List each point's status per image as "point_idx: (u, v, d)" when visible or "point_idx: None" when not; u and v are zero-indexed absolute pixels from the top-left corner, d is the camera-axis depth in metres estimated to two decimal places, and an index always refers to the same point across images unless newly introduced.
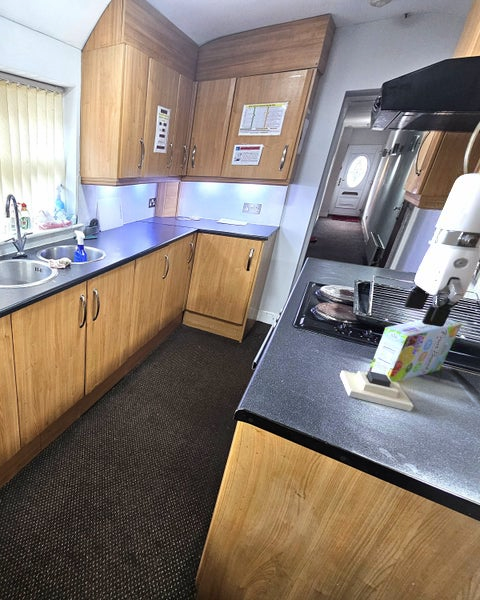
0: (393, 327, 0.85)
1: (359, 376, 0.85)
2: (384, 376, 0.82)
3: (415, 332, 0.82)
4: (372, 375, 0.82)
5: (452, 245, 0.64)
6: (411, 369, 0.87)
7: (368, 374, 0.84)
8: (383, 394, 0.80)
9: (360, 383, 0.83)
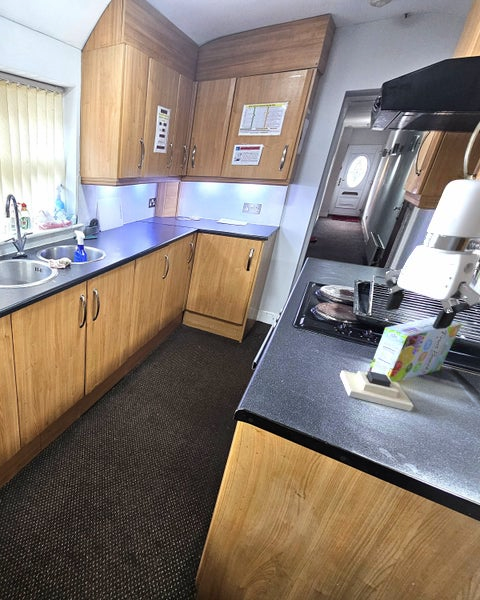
0: (393, 327, 0.85)
1: (359, 376, 0.85)
2: (384, 376, 0.82)
3: (415, 332, 0.82)
4: (372, 375, 0.82)
5: (459, 251, 0.64)
6: (411, 369, 0.87)
7: (368, 374, 0.84)
8: (383, 394, 0.80)
9: (360, 383, 0.83)
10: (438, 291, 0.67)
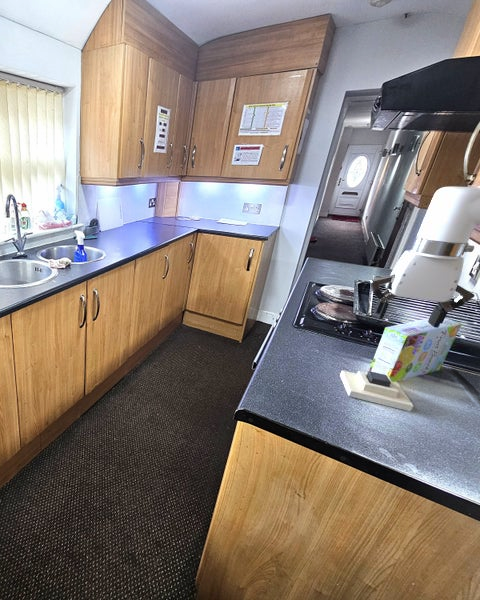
0: (393, 327, 0.85)
1: (359, 376, 0.85)
2: (384, 376, 0.82)
3: (415, 332, 0.82)
4: (372, 375, 0.82)
5: (460, 255, 0.67)
6: (411, 369, 0.87)
7: (368, 374, 0.84)
8: (383, 394, 0.80)
9: (360, 383, 0.83)
10: (442, 294, 0.70)
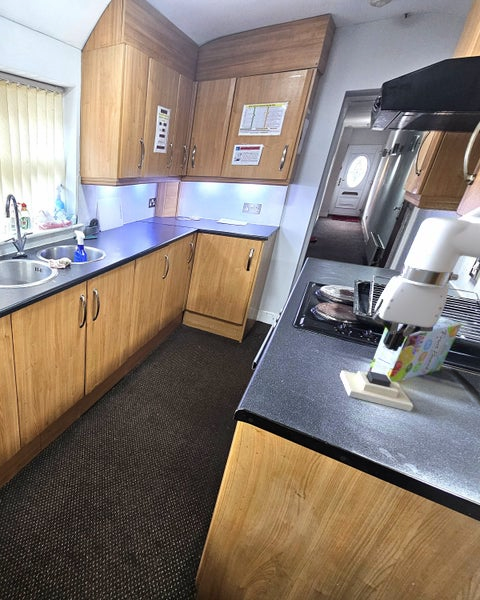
0: None
1: (359, 376, 0.85)
2: (384, 376, 0.82)
3: None
4: (372, 375, 0.82)
5: (445, 284, 0.69)
6: (411, 369, 0.87)
7: (368, 374, 0.84)
8: (383, 394, 0.80)
9: (360, 383, 0.83)
10: (428, 320, 0.72)
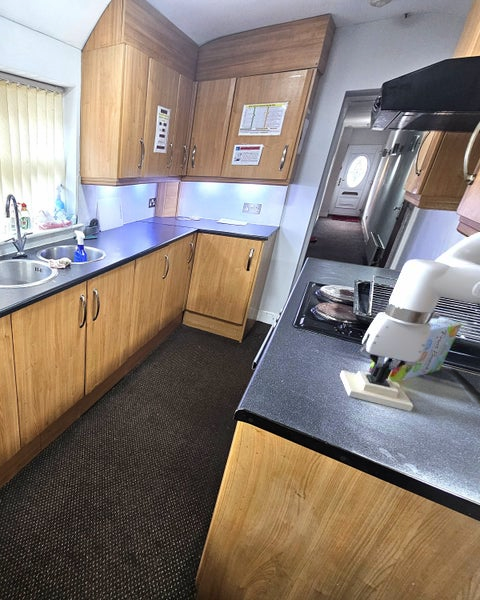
0: None
1: (359, 376, 0.85)
2: None
3: None
4: (371, 378, 0.82)
5: (427, 322, 0.73)
6: (411, 369, 0.87)
7: (367, 377, 0.84)
8: (383, 394, 0.80)
9: (360, 383, 0.83)
10: (412, 355, 0.76)
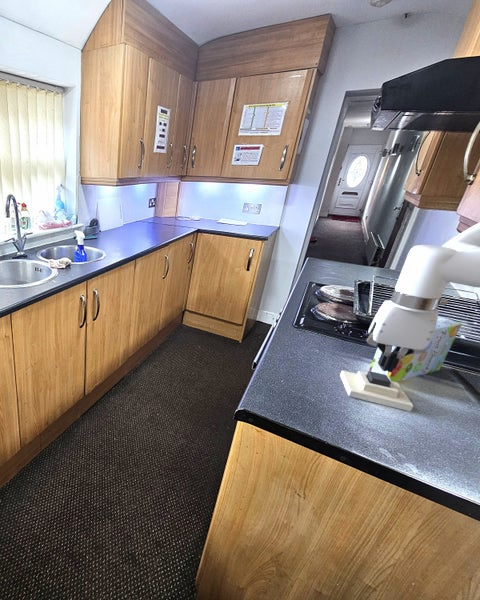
0: None
1: (359, 376, 0.85)
2: (384, 376, 0.82)
3: None
4: (372, 375, 0.82)
5: (435, 309, 0.71)
6: (411, 369, 0.87)
7: (368, 374, 0.84)
8: (383, 394, 0.80)
9: (360, 383, 0.83)
10: (420, 343, 0.74)
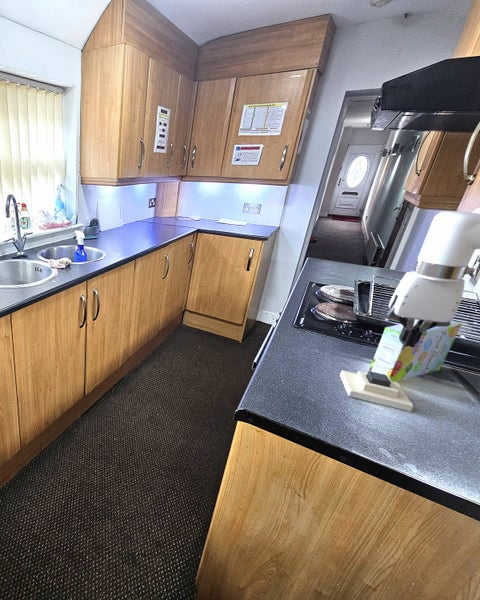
0: (393, 327, 0.85)
1: (359, 376, 0.85)
2: (384, 376, 0.82)
3: None
4: (372, 375, 0.82)
5: (461, 278, 0.68)
6: (411, 369, 0.87)
7: (368, 374, 0.84)
8: (383, 394, 0.80)
9: (360, 383, 0.83)
10: (444, 315, 0.71)
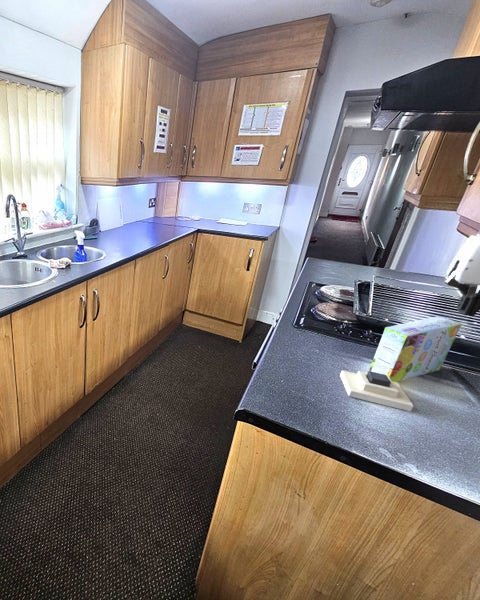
0: (393, 327, 0.85)
1: (359, 376, 0.85)
2: (384, 376, 0.82)
3: (415, 332, 0.82)
4: (372, 375, 0.82)
5: None
6: (411, 369, 0.87)
7: (368, 374, 0.84)
8: (383, 394, 0.80)
9: (360, 383, 0.83)
10: None
